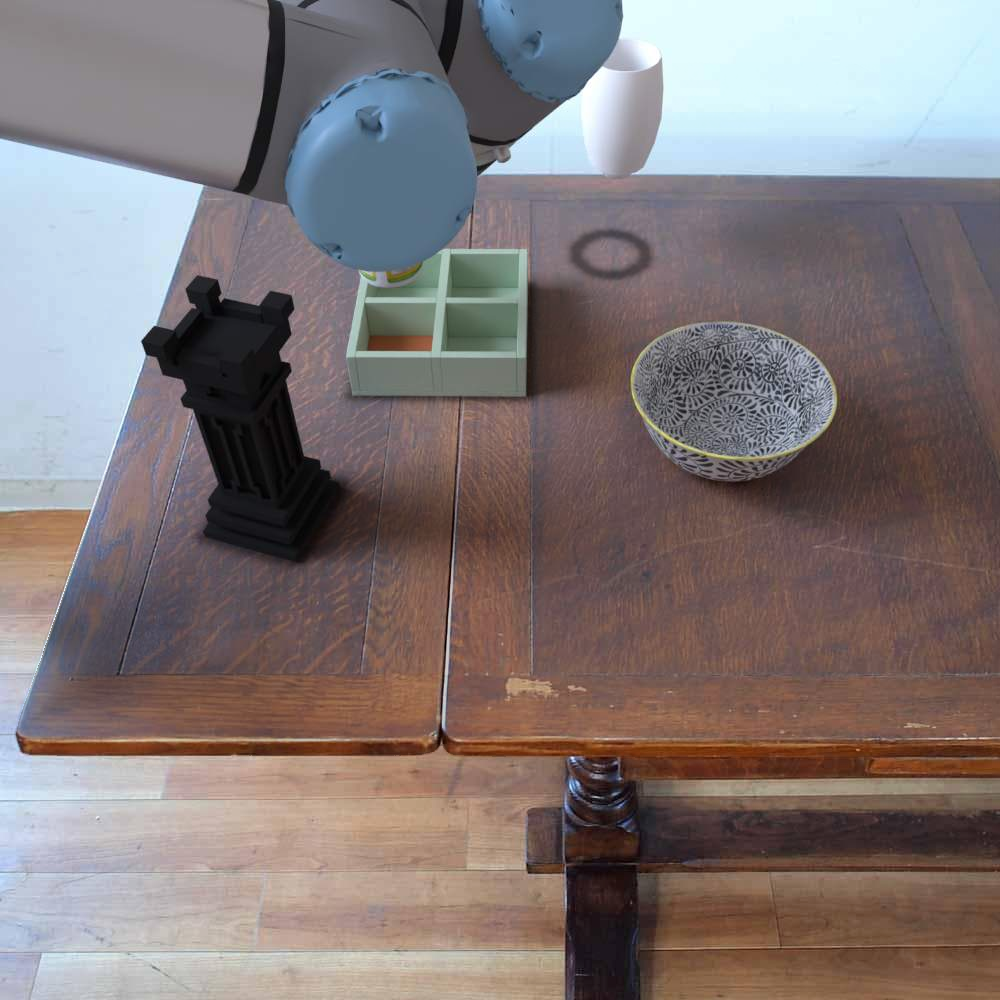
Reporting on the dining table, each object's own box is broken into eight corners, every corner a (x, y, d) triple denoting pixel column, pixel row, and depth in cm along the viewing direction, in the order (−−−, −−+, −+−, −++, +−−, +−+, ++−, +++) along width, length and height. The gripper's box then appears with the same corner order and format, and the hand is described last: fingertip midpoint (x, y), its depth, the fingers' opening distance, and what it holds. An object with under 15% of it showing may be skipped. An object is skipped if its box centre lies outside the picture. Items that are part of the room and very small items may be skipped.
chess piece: (296, 562, 80) (242, 369, 64) (205, 537, 81) (132, 343, 66) (340, 488, 85) (299, 292, 69) (253, 466, 86) (194, 270, 71)
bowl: (667, 363, 94) (677, 297, 88) (840, 421, 89) (862, 354, 83) (593, 480, 85) (597, 415, 79) (780, 551, 79) (800, 487, 74)
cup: (615, 225, 108) (630, 27, 92) (661, 259, 104) (685, 58, 88) (560, 250, 105) (566, 50, 89) (605, 286, 101) (620, 84, 85)
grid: (352, 395, 92) (345, 356, 88) (371, 287, 102) (365, 248, 98) (526, 396, 91) (526, 357, 88) (527, 287, 101) (527, 248, 98)
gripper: (354, 216, 61) (283, 295, 83) (602, 122, 68) (476, 218, 89) (299, 95, 60) (242, 207, 82) (556, 11, 67) (440, 135, 88)
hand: (364, 212), depth 85 cm, fingers closed on supplement bottle, 5 cm apart
